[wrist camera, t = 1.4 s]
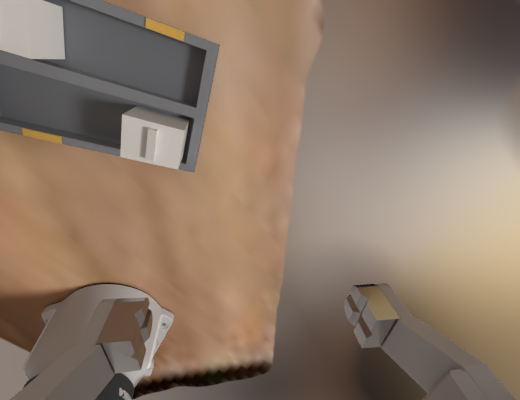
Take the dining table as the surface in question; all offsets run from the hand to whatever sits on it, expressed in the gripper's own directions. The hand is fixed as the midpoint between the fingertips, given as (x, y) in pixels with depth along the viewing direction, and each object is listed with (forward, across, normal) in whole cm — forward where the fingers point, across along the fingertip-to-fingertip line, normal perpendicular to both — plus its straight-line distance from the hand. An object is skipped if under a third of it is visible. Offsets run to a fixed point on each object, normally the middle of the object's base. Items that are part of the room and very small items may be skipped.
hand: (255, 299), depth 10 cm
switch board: (+21, +12, -5) cm, 25 cm away
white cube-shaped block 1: (+20, +8, -1) cm, 22 cm away
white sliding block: (+20, +17, -10) cm, 28 cm away
